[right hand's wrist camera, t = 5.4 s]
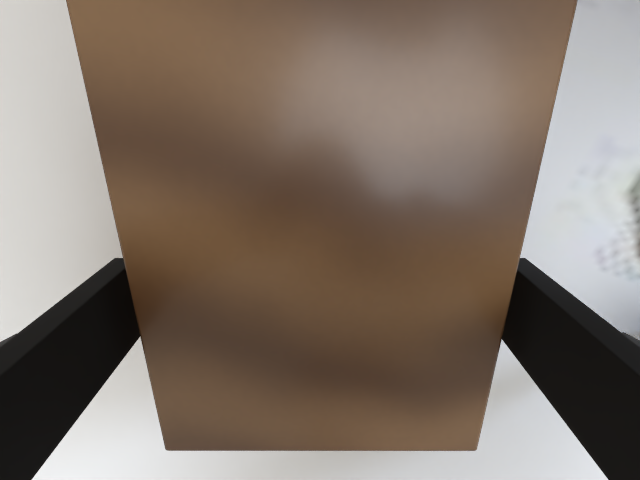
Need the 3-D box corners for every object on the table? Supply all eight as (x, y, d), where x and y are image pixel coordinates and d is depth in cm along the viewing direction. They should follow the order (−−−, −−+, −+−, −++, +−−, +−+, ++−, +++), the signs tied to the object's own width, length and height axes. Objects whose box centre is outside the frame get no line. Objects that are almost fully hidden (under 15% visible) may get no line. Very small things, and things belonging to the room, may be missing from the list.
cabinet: (185, -116, 14) (-46, -491, 5) (456, -116, 14) (691, -491, 5) (230, 304, 21) (164, 451, 12) (411, 305, 21) (477, 452, 12)
